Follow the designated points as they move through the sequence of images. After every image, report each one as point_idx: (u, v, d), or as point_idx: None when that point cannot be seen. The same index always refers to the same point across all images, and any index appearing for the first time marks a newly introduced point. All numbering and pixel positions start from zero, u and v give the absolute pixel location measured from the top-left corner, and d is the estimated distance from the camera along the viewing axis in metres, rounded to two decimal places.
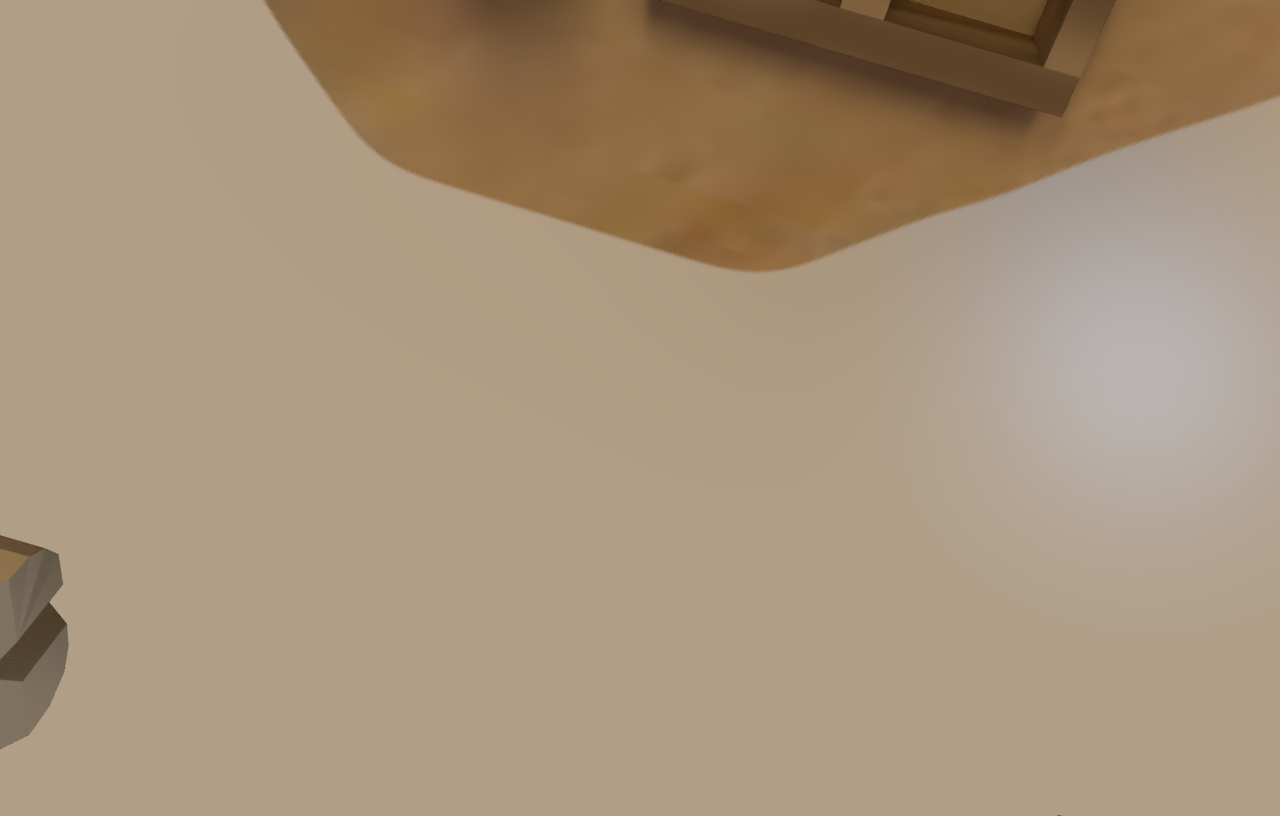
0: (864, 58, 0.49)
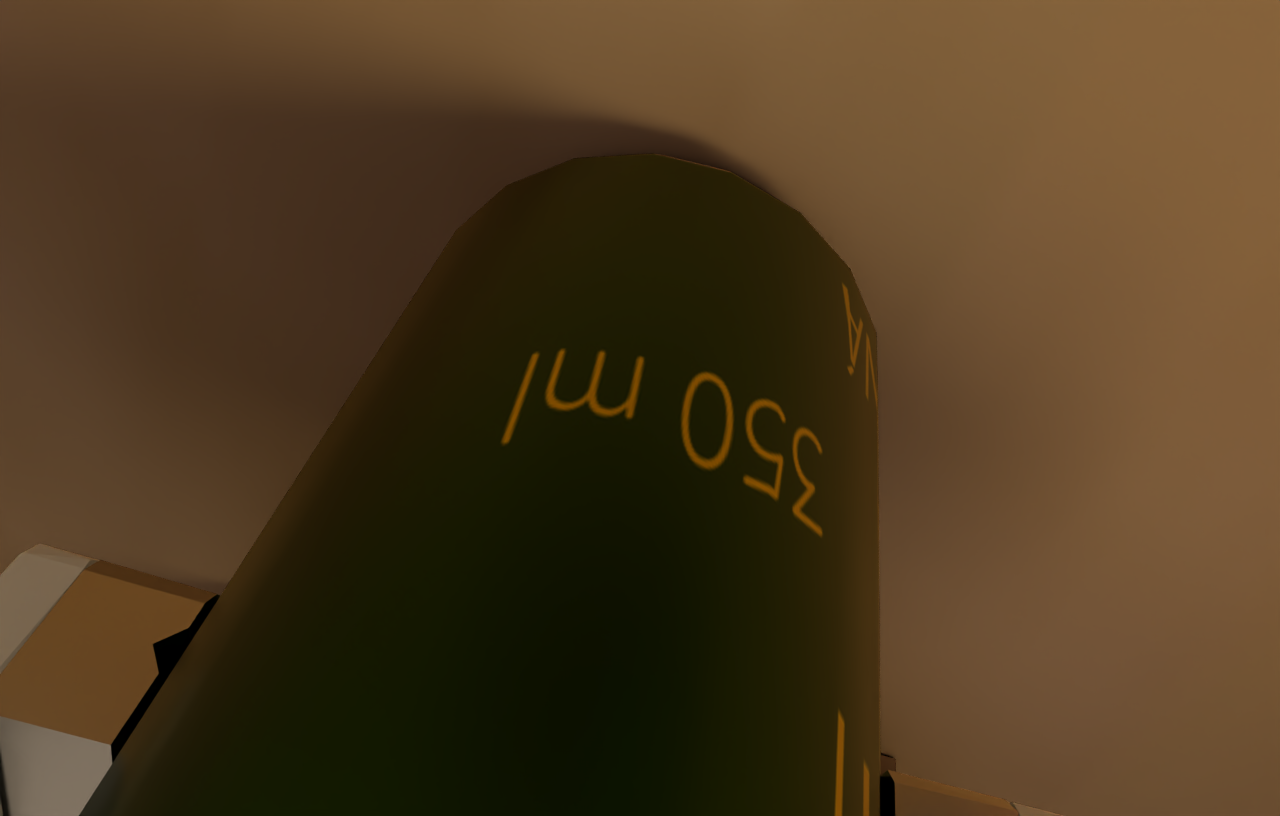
0: None
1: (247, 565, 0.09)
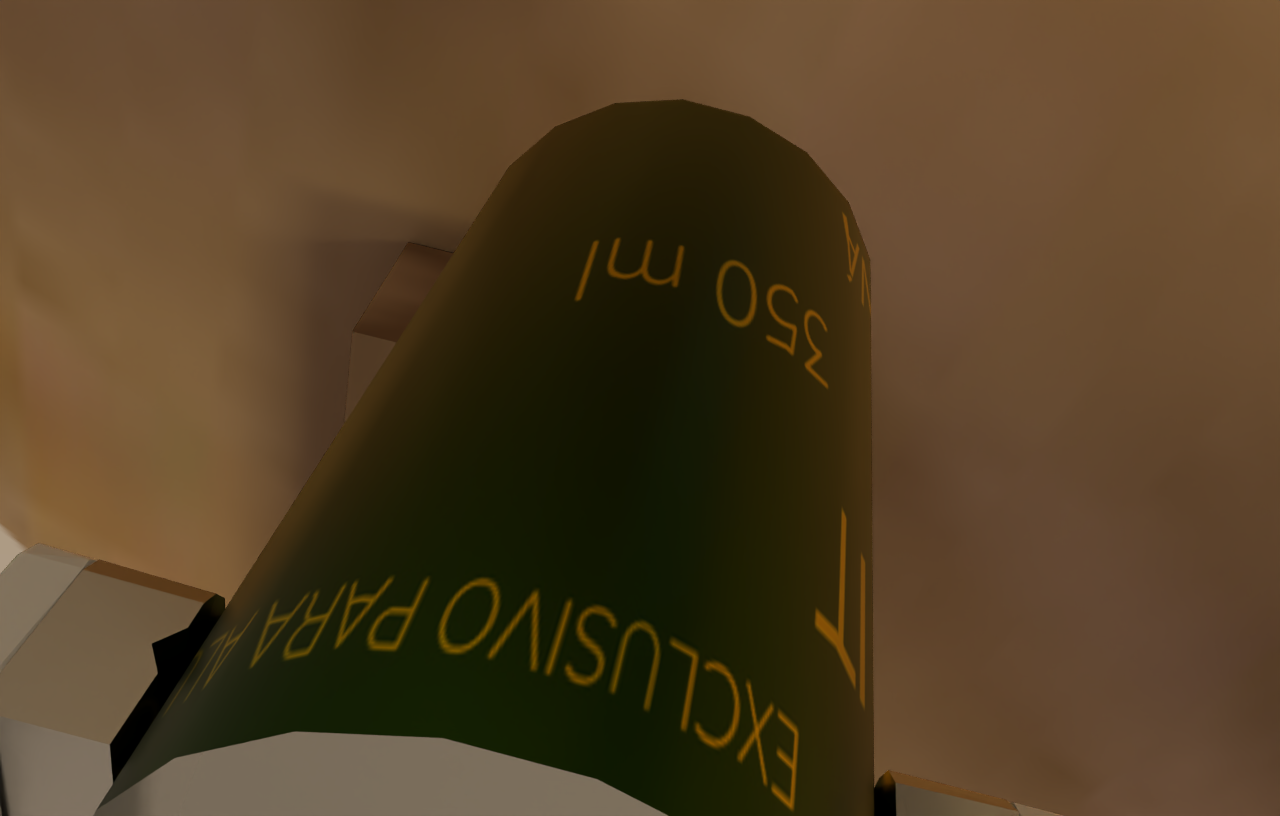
0: None
1: (366, 399, 0.11)
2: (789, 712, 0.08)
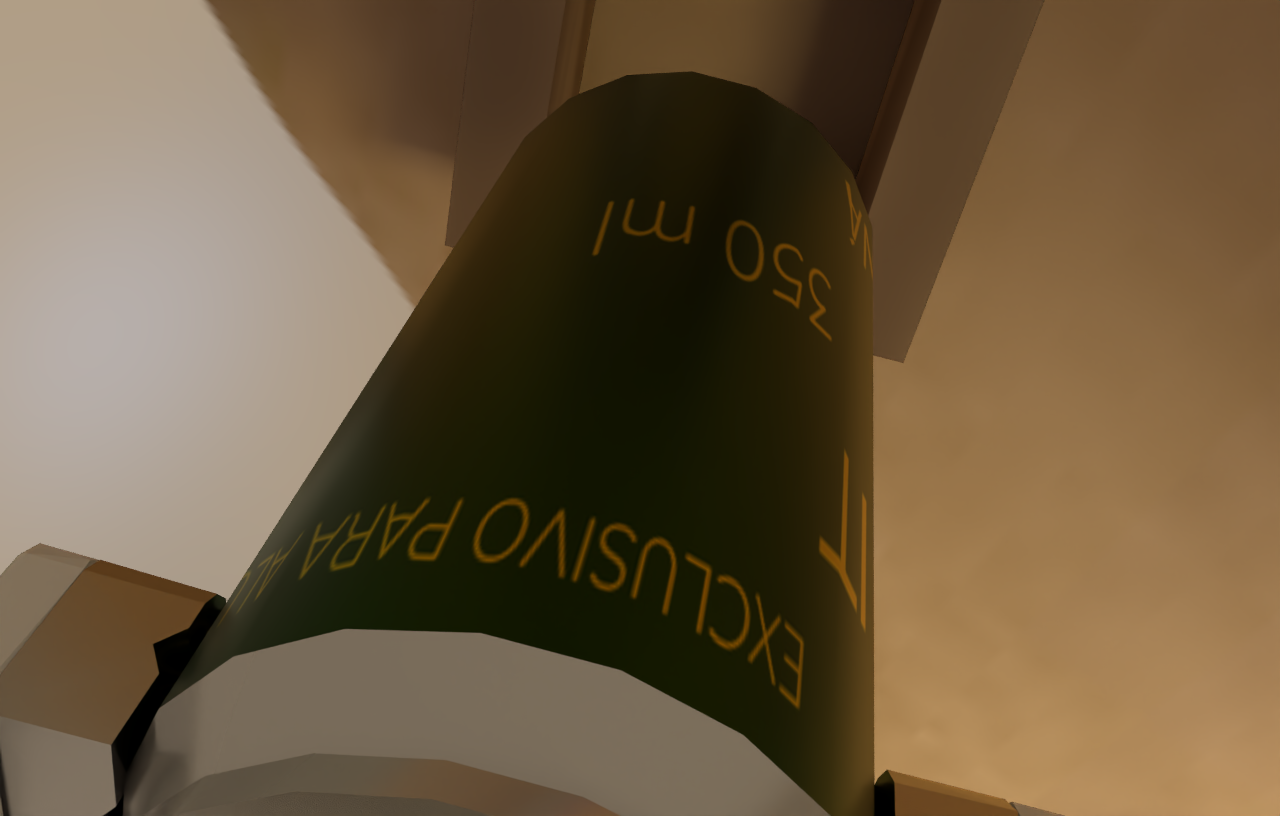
0: None
1: (394, 349, 0.12)
2: (795, 624, 0.08)
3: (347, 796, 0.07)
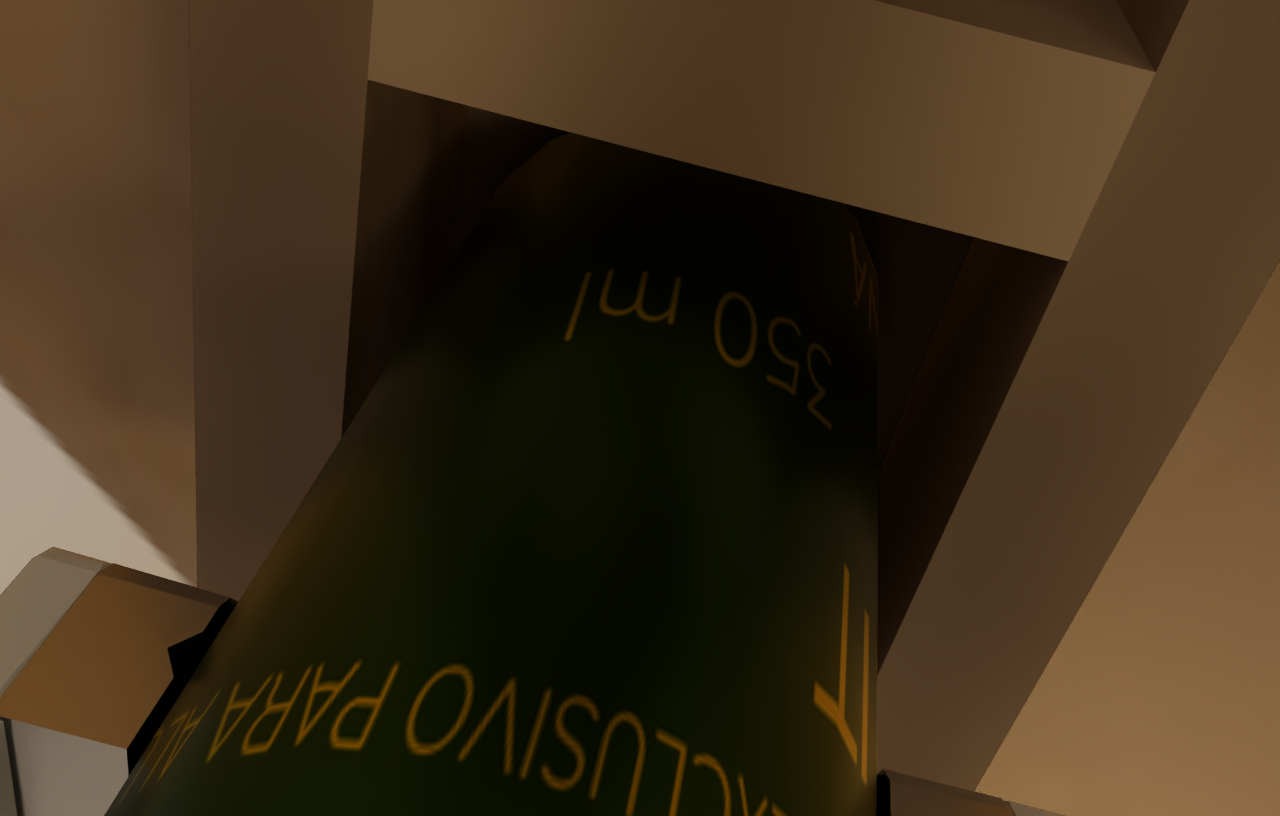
0: (195, 12, 0.11)
1: (346, 442, 0.10)
2: (786, 806, 0.07)
3: None
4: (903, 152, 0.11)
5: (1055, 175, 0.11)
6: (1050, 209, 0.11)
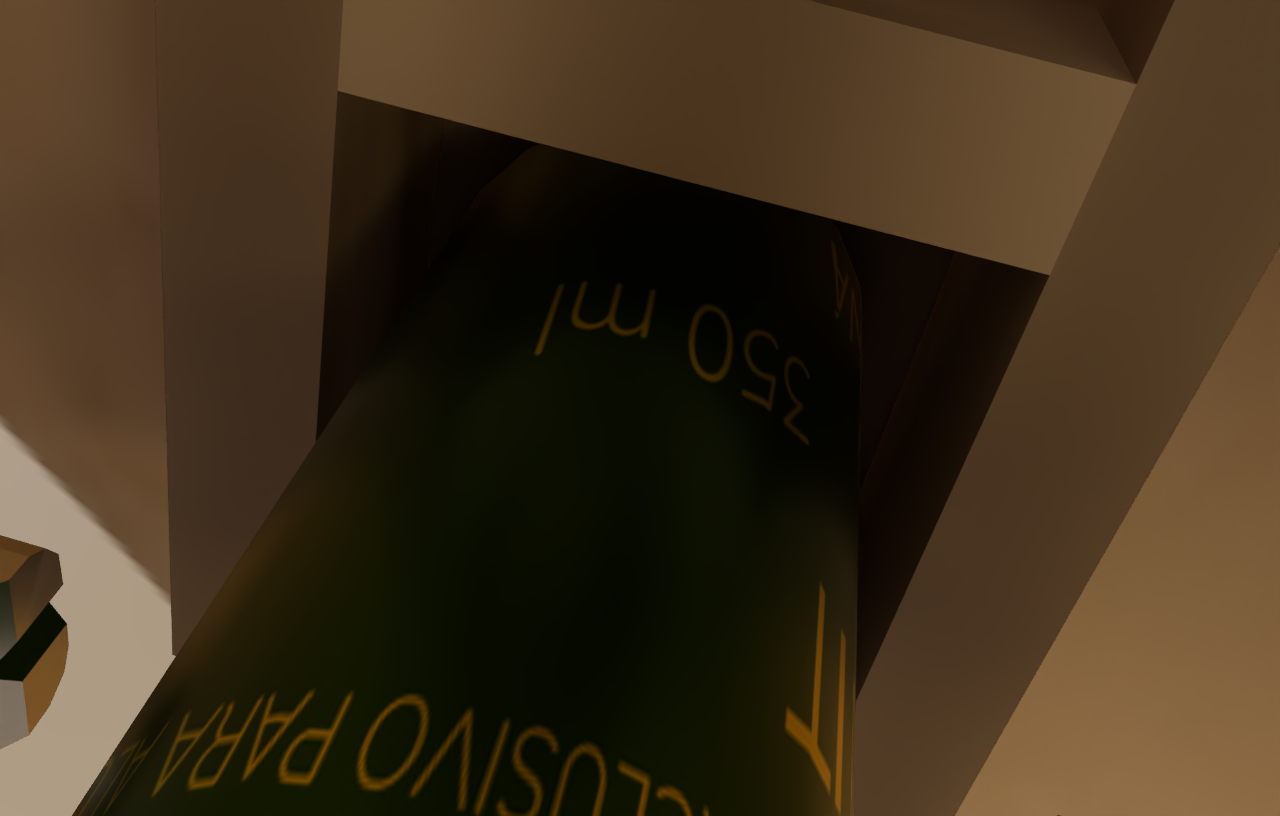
0: (162, 22, 0.11)
1: (311, 459, 0.10)
2: None
3: None
4: (881, 165, 0.11)
5: (1035, 188, 0.11)
6: (1031, 222, 0.11)
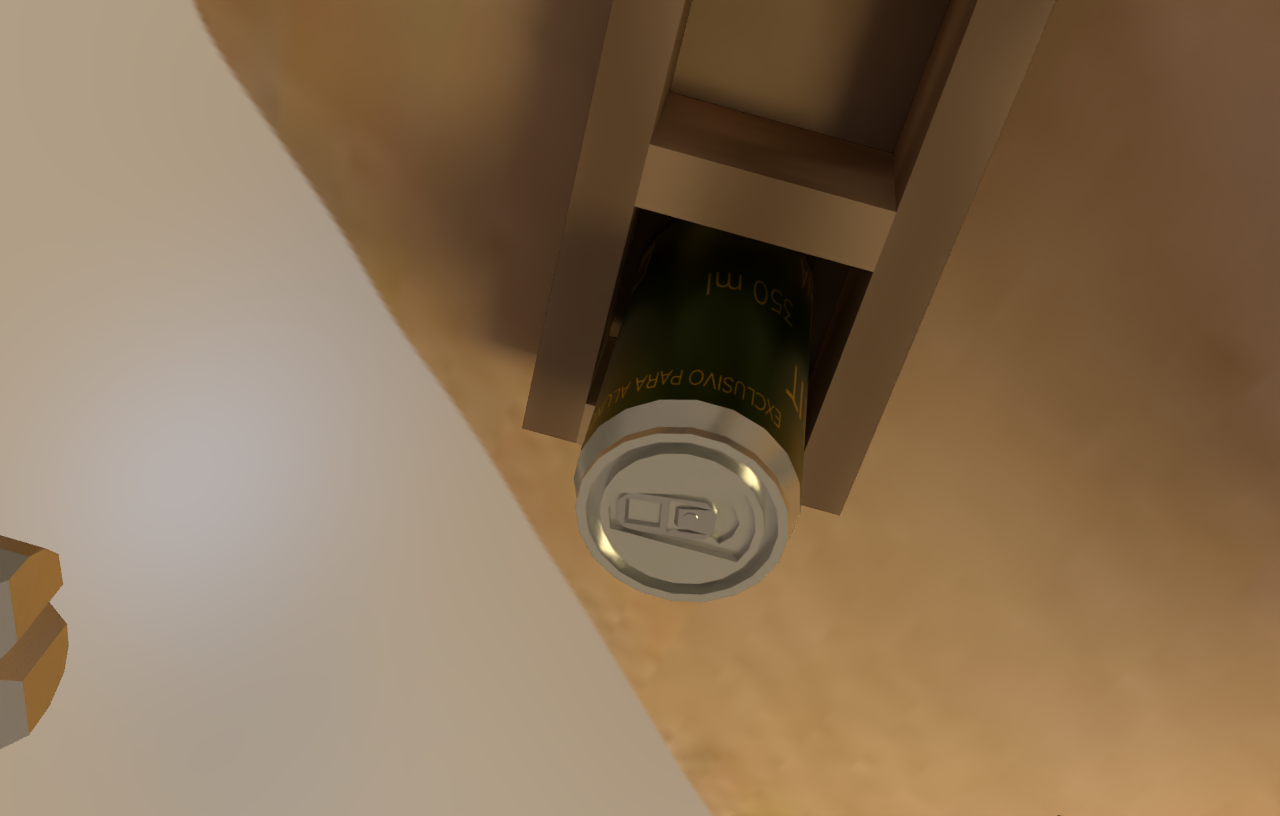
0: (576, 182, 0.33)
1: (633, 327, 0.32)
2: (778, 408, 0.29)
3: (669, 434, 0.27)
4: (817, 234, 0.32)
5: (867, 243, 0.32)
6: (866, 254, 0.32)
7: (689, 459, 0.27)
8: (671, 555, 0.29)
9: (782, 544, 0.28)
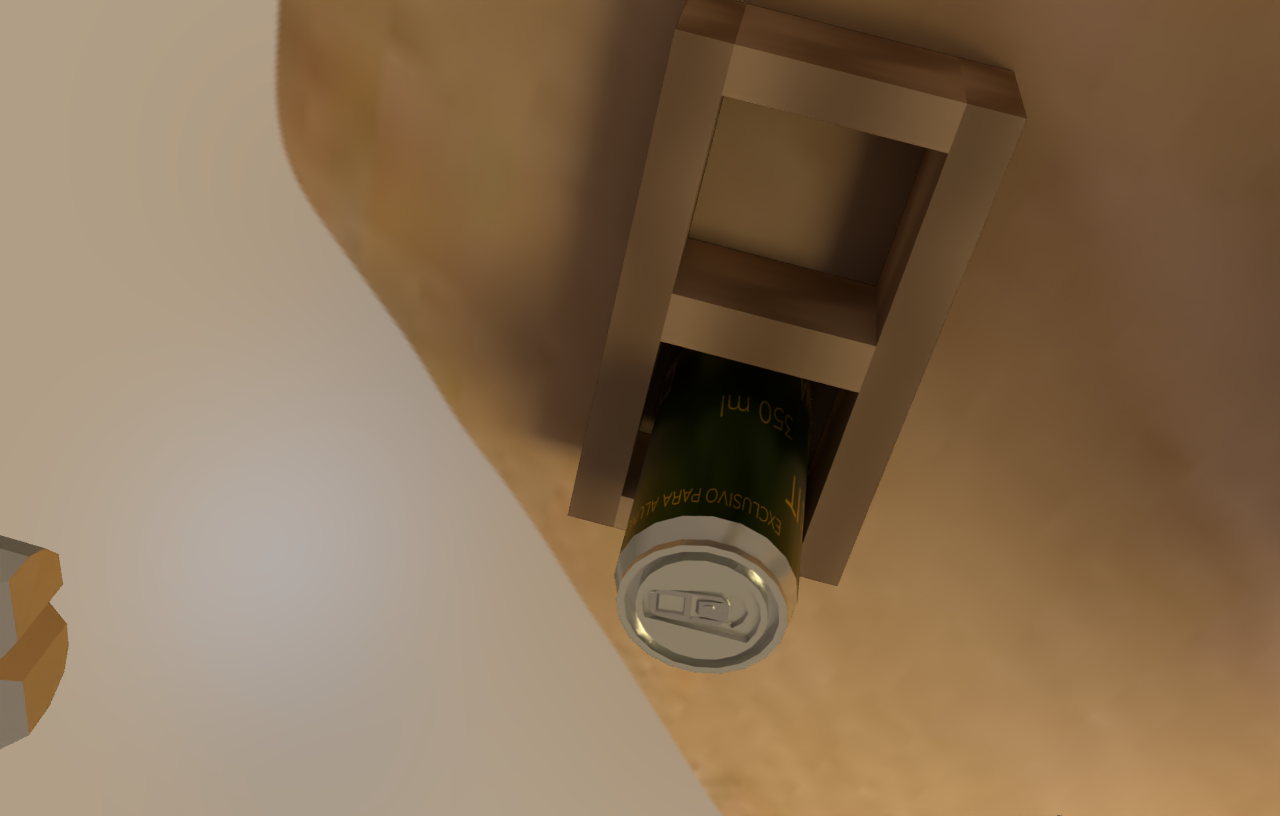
0: (611, 322, 0.39)
1: (660, 443, 0.39)
2: (778, 518, 0.36)
3: (690, 546, 0.34)
4: (811, 363, 0.39)
5: (853, 370, 0.39)
6: (852, 379, 0.39)
7: (707, 564, 0.34)
8: (694, 637, 0.36)
9: (782, 629, 0.35)
